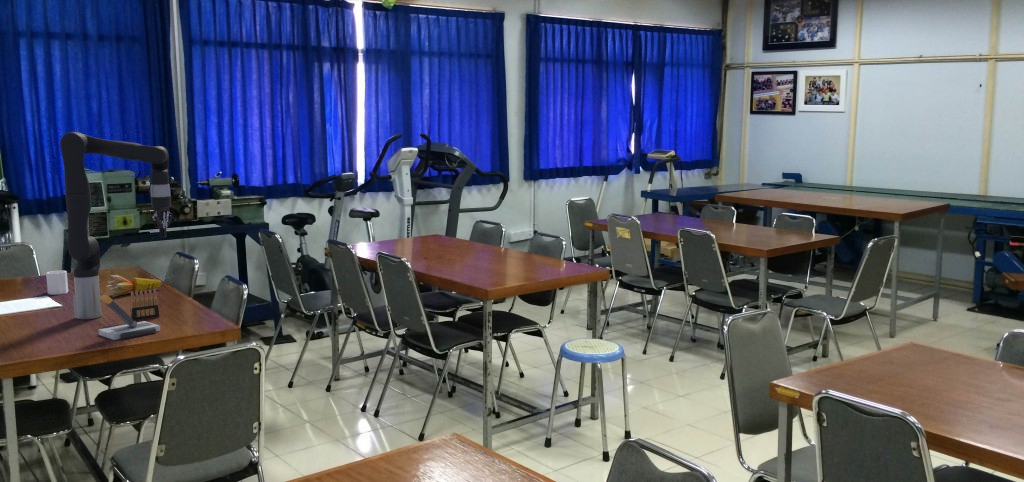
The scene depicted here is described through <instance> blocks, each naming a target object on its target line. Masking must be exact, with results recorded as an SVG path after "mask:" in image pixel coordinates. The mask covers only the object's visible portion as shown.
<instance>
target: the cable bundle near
mask: <svg viewBox="0 0 1024 482" xmlns="http://www.w3.org/2000/svg"><path fill="white" fill-rule="evenodd" d="M156 332H157V331H156V329H155V327H152V328H147V329H142V330H137V331H131V332H126V333H122V334H121V335H120V337H121V339H122V340H127V339H131V338H135V337H141V336H146V335H151V334H156Z"/></svg>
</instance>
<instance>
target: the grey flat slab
mask: <svg viewBox="0 0 1024 482" xmlns="http://www.w3.org/2000/svg"><path fill="white" fill-rule="evenodd" d="M136 322H137V321H136ZM152 327H155V329H156V332H160V331H161V325H159V324H155V323H152V322H149V321H145V320H142V321H138V322H137V326H136V327H131V326H128V325H127V324H126V325H121V326H115V327H110V328H104V329H102V328H99V329H98V335H99V336H101V337H105V338H107V339H110V340H113V341H115V340H120V339H121V337H120V335H121V334H122V333H126V332H131V331H137V330H142V329H147V328H152Z"/></svg>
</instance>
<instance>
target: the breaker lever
mask: <svg viewBox="0 0 1024 482" xmlns="http://www.w3.org/2000/svg"><path fill="white" fill-rule="evenodd" d="M99 299H100V300H101V302H102V303H103V304H105V306H107V307H108V308H109V309H110V310H111V311H113V312H114V313H115V314H116V315H117V316H118V317H119V318H120V319H121V320H122V321H123V323H127V325H128V326H131V327H136V326H137V321H136V320H133V319H132V318H131V315H129V314H128V313H127V312H126V311H125V310H123V309H122V308H121V307H120V306H119V305H118V304H117V302H115V301H114V299H113V298H112V297H110V296H109V295H107V294H102V295H100V298H99ZM135 321H136V322H135Z"/></svg>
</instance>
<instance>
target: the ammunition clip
mask: <svg viewBox="0 0 1024 482" xmlns="http://www.w3.org/2000/svg"><path fill="white" fill-rule="evenodd" d="M156 289H157V288H154V289H153V291H152V290H151V289H149V290H146V289H145V290H144V293H143V291H142V290H140V292H139V293H138V292H137V290H136V293H135V294H133V291H131V292H130V317H131V318H132V319H133V320H134V321H139V320H147V319H154V318H160V310H159V303H158V297H157V296H158V295H157V290H156Z"/></svg>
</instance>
